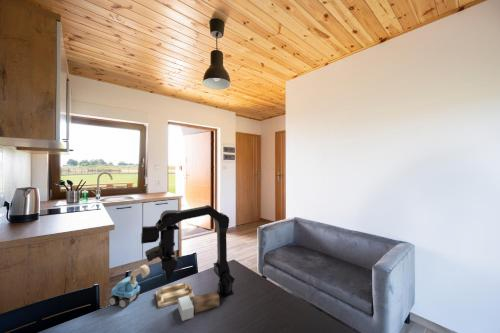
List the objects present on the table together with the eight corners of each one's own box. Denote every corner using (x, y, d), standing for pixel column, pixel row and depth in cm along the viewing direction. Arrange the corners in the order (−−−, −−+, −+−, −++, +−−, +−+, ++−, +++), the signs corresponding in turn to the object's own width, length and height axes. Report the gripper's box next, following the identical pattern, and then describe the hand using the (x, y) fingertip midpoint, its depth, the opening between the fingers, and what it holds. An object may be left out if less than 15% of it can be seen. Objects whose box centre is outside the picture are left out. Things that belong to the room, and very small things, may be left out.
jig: (188, 285, 113) (188, 280, 113) (194, 298, 102) (194, 292, 102) (155, 293, 105) (155, 287, 105) (158, 308, 94) (158, 301, 94)
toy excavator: (139, 311, 92) (140, 271, 92) (106, 305, 95) (107, 266, 95) (152, 299, 100) (153, 262, 100) (121, 294, 104) (122, 258, 104)
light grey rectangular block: (177, 308, 95) (178, 298, 95) (188, 305, 97) (188, 295, 97) (182, 321, 87) (182, 310, 87) (193, 317, 89) (193, 307, 89)
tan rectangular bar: (215, 300, 101) (216, 291, 101) (219, 306, 97) (219, 296, 97) (192, 307, 96) (192, 297, 96) (194, 313, 92) (195, 303, 92)
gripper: (145, 236, 98) (144, 270, 98) (148, 250, 82) (147, 291, 82) (171, 233, 103) (170, 265, 103) (178, 246, 87) (177, 284, 87)
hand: (166, 275), depth 94 cm, fingers open, 9 cm apart
